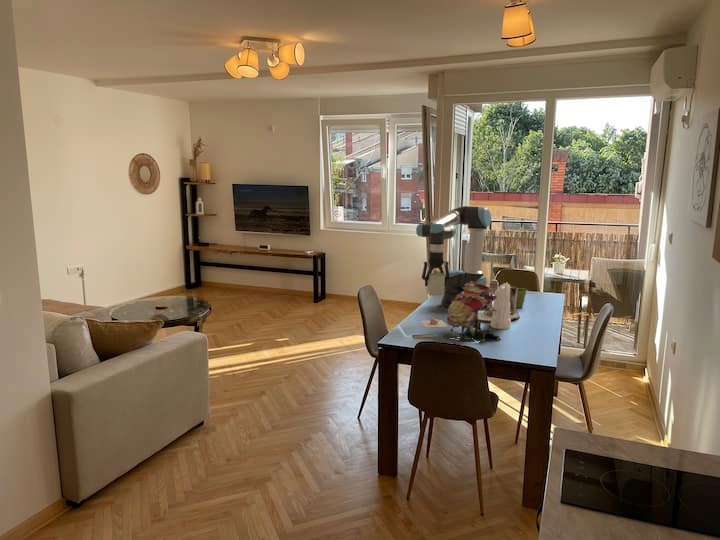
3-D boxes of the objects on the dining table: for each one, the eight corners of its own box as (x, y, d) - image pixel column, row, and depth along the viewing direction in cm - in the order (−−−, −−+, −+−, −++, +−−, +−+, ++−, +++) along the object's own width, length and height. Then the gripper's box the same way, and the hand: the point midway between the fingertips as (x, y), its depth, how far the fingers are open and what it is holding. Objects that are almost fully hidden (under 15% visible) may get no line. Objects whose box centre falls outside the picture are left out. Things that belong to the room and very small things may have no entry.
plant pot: (524, 304, 347) (525, 288, 345) (527, 309, 335) (529, 292, 333) (505, 304, 348) (506, 287, 346) (508, 308, 336) (510, 291, 334)
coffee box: (499, 312, 328) (500, 286, 325) (501, 309, 333) (503, 285, 330) (514, 314, 324) (515, 288, 321) (516, 311, 329) (518, 286, 326)
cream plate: (419, 322, 304) (420, 316, 303) (441, 321, 305) (442, 316, 305) (425, 328, 291) (425, 322, 290) (448, 328, 293) (448, 322, 292)
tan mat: (408, 329, 289) (408, 328, 289) (427, 329, 291) (427, 328, 291) (414, 338, 274) (414, 337, 274) (435, 337, 275) (435, 336, 275)
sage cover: (426, 292, 298) (427, 269, 296) (440, 291, 299) (440, 269, 297) (430, 295, 291) (430, 272, 288) (444, 295, 292) (444, 271, 289)
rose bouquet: (460, 326, 296) (462, 274, 291) (505, 338, 275) (508, 282, 270) (430, 335, 280) (432, 280, 274) (475, 349, 258) (478, 289, 253)
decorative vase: (496, 329, 291) (499, 285, 286) (487, 324, 301) (489, 281, 296) (514, 328, 293) (516, 284, 289) (504, 323, 304) (506, 280, 299)
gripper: (419, 252, 286) (418, 293, 290) (456, 252, 288) (455, 292, 292) (416, 250, 293) (415, 290, 297) (452, 250, 296) (451, 289, 300)
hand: (435, 291), depth 295 cm, fingers closed on sage cover, 8 cm apart
